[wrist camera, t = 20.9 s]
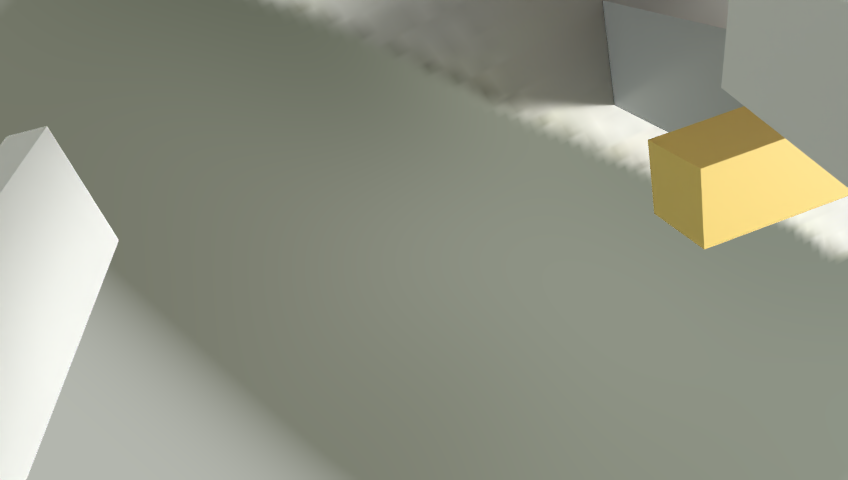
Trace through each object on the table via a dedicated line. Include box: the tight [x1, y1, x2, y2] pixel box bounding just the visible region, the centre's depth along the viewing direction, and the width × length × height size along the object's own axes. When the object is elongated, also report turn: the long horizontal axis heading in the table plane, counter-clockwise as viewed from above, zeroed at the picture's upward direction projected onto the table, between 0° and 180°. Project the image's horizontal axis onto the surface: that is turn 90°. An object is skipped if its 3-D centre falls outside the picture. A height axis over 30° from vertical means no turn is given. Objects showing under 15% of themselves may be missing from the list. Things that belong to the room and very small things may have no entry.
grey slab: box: [603, 0, 744, 132], centre depth 41 cm, size 8×16×19 cm, turn 105°
